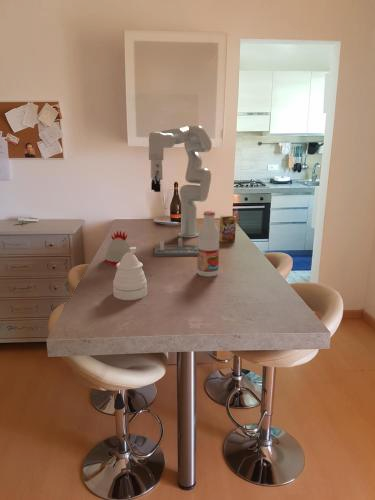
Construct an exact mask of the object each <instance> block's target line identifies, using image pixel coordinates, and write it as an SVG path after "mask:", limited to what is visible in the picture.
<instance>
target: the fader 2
mask: <svg viewBox="0 0 375 500" xmlns="http://www.w3.org/2000/svg"><path fill="white" fill-rule="evenodd" d="M177 240H178V243H177V245H178V246H179V247H182V245H183V237H181V236H179V237H178V239H177Z"/></svg>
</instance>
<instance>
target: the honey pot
mask: <svg viewBox="0 0 375 500" xmlns="http://www.w3.org/2000/svg"><path fill="white" fill-rule="evenodd" d="M130 251H131V252H127V253H126V254H125V255H124V256H123V258H122V259H121V261H120V262H119V263H118V264H117V265H115V267H116V268H117V269H116V271H115V276H114V279H113V281H112V285H113V289H112V290H113V296H114V298H116V299H118V300H123V301H135V300H139V299H142V298H144V297H146V296H147V294H148V284H147V283H148V281H147V278H146V276H145V272H144V270H143V263H142V262H141V261H139V260H138V258H137V256H136V255H135V253H136V251H137V247H136V246H131V247H130Z"/></svg>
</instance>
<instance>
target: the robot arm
mask: <svg viewBox="0 0 375 500" xmlns="http://www.w3.org/2000/svg"><path fill="white" fill-rule="evenodd" d="M182 144H183V145H184V146H183V147H184V149H185V151H186V155H187V159H188V161H187V166H186V172H185V177H184V178H185V181H186V182H187V183H188V184H184V185H182V186H181V187H180V189H179V197H180V207H181V208H180V216H181V217H180V232H178V236H179V237H181V238H186V239H188V238H197V237H199V234H198V232H197V212H198V211H197V209H198V208H197V205H196V203H195V202H199V203H200V202H205V201H207V199H208V196H209V192H210V186H211V183H212V182H211V181H212V173H211V170H210V169H209V168H205V167H202V164H203V160H202V157H201V156H200V154H199V153H208V152H210V151H211V149H212V147H213V146H212V145H213V144H212V140H211V138H210V137H209V135H208V133H207V130H205V128H204V127H203V126H201V125H183V126H180V127H176V128H170V129H167V130H166V129H163V130H159V131H155V132H154V131H153V132H149V135H148V161H150V178H151V184H150V187H151V188H150V190H151V191H153V192H154V193H161V186H162V185H161V181H162V180H163V161H164V152H165V151H164V150H165V148H166V149H170V148H173V147H174V146H175V145H182ZM198 184H199V185H198Z"/></svg>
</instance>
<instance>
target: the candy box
mask: <svg viewBox="0 0 375 500" xmlns="http://www.w3.org/2000/svg"><path fill="white" fill-rule="evenodd" d="M219 219H220V220H219V237H218V241H219V243H223V242H224V243H228V242H230V243H231V242H233V243H234V242H235V243H236V231H237V230H236V228H237V216H236V215H220V218H219Z"/></svg>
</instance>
